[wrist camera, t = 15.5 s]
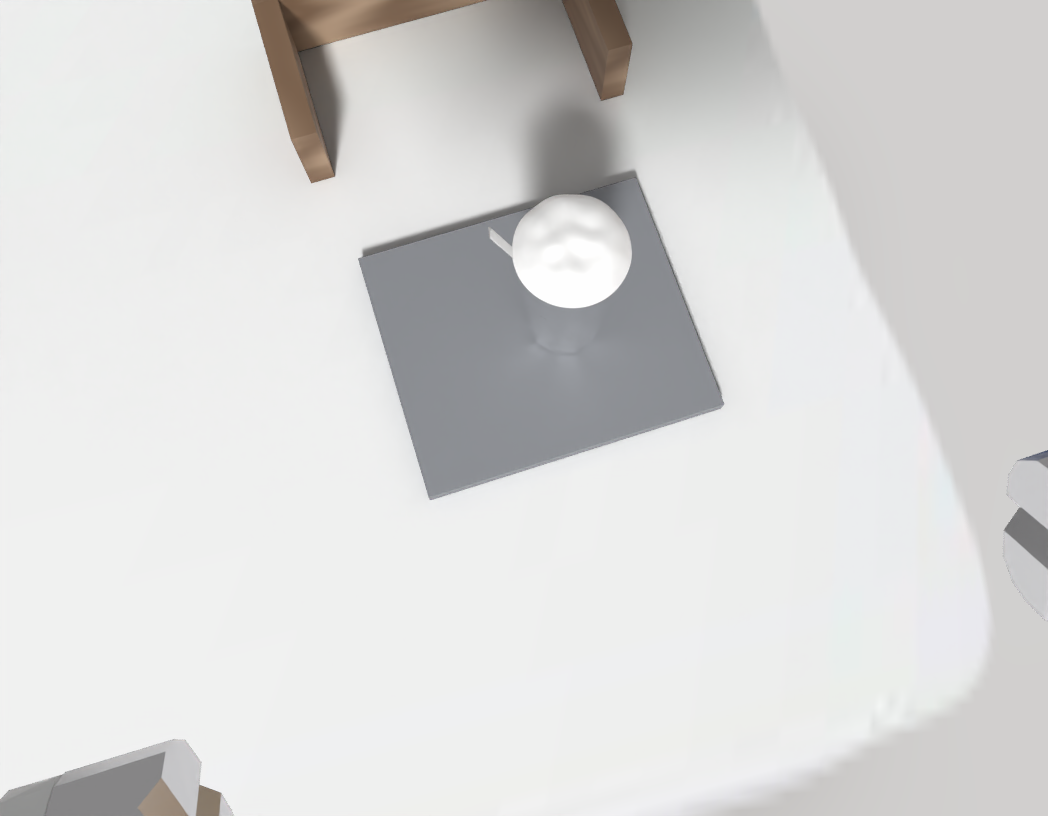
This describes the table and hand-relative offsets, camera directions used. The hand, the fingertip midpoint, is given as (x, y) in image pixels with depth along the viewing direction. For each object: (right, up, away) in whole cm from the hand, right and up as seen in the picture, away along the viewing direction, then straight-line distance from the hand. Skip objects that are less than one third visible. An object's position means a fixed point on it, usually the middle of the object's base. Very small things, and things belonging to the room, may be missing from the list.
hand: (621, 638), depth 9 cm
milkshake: (0, +6, +33) cm, 34 cm away
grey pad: (0, +6, +34) cm, 34 cm away
